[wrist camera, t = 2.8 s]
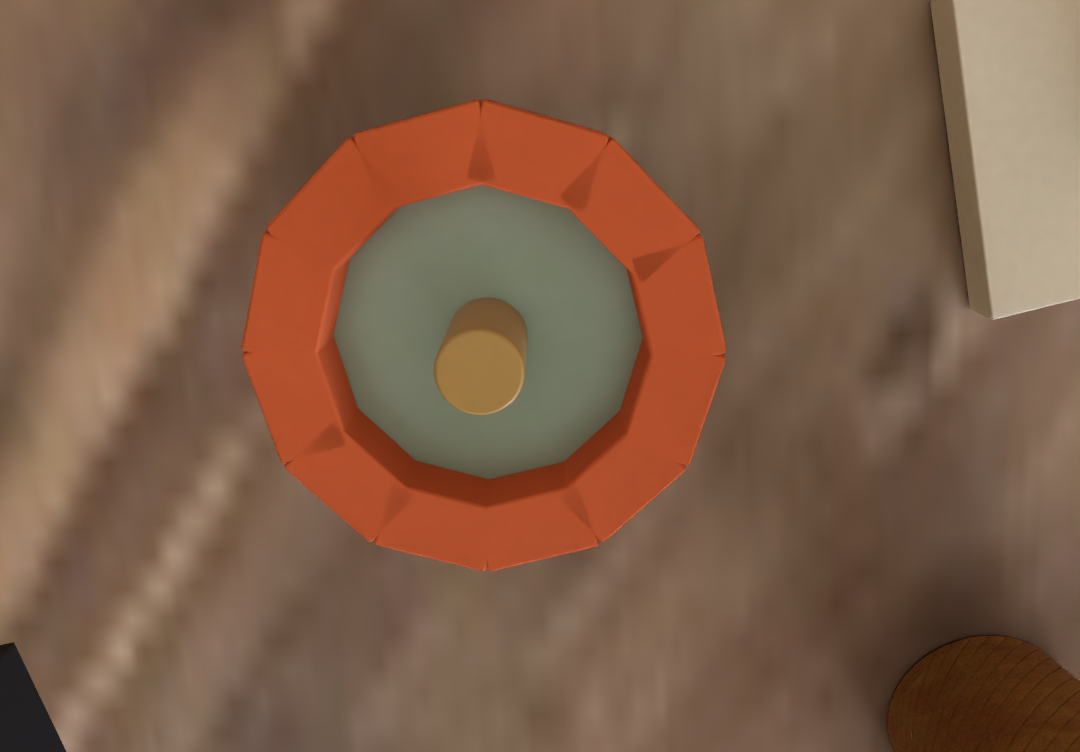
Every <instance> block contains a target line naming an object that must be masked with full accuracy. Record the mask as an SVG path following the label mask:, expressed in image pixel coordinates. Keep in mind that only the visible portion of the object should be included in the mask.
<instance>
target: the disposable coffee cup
mask: <svg viewBox="0 0 1080 752" xmlns="http://www.w3.org/2000/svg"><path fill="white" fill-rule="evenodd" d="M887 723H888V734H889V738H890V741H891V743H892V746H893V749H894V752H1080V681H1078V680H1077V679H1075V678H1074V676H1073V675H1071V674H1070V673H1069V672H1068V671H1066V670H1065V669H1063V668H1062V666H1060V665H1059V664H1058V663H1057V662H1055V661H1054V660H1053V659H1052V658H1051V657H1050V656H1049V655H1048V654H1046V653H1045V652H1043V651H1042V650H1040V649H1039V648H1037V647H1036V646H1034V645H1032V644H1029V643H1027V642H1024V641H1022V640H1019V639H1015V638H1009V637H1004V636H978V637H972V638H965V639H962V640H959V641H957V642H954V643H951V644H948V645H945V646H943V647H941V648H939V649H938V650H936V651H934V652H932V653H931V654H929V655H927V656H926V657H925V658H923V659H922V660H921V661H919V662H918V663H917V664H916V665H915V666H914V667H913V668H912V669H911V670H910V671H909V672H908V673H907V674H906V675H905V676H904V678H903V679H902V681H901V682H900V684H899V686H898V687H897V689H896V690H895V693H894V695H893V698H892V700H891V703H890V706H889V713H888V720H887Z"/></svg>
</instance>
